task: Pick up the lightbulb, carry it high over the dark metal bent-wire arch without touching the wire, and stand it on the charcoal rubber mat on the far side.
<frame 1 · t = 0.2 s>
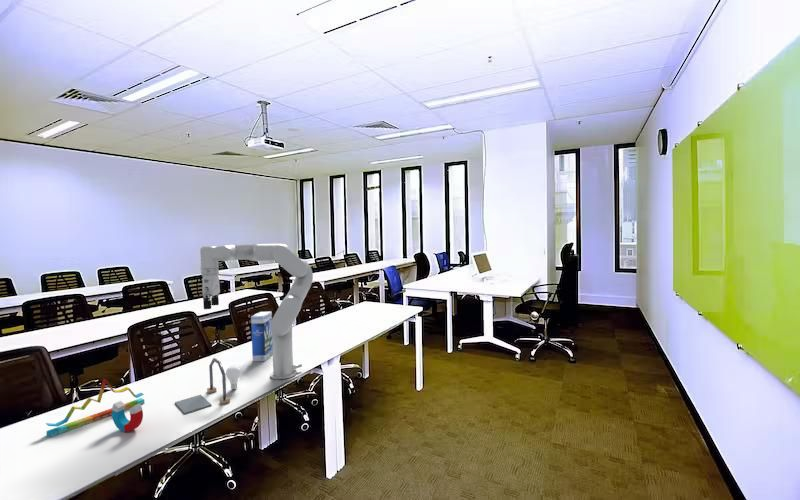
hand: (211, 307, 178), 37 cm above the table, tool pointing down, fingers open, 9 cm apart
magnet: (128, 430, 135), on the table
string lights box: (263, 358, 213), on the table
wire arch: (218, 396, 162), on the table
mat: (193, 404, 155), on the table
chart: (99, 419, 145), on the table
lightbulb: (234, 389, 169), on the table
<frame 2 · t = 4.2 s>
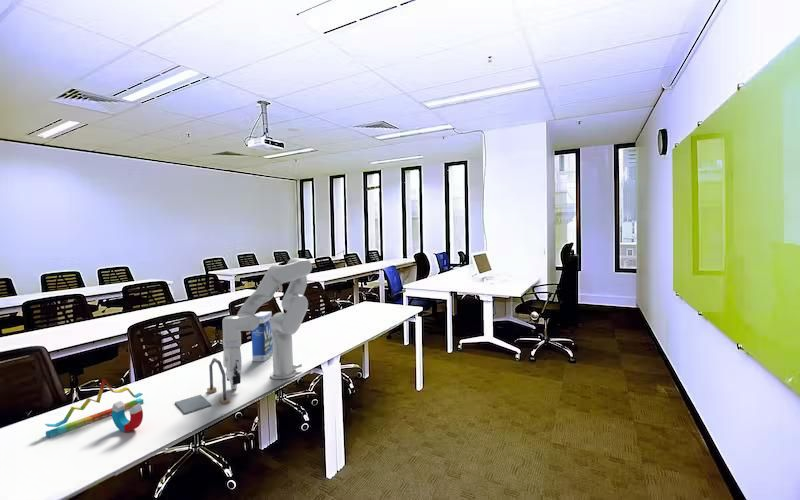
hand: (233, 381, 169), 4 cm above the table, tool pointing down, fingers closed on lightbulb, 6 cm apart
lightbulb: (234, 389, 169), on the table, touching gripper
everything else where it was.
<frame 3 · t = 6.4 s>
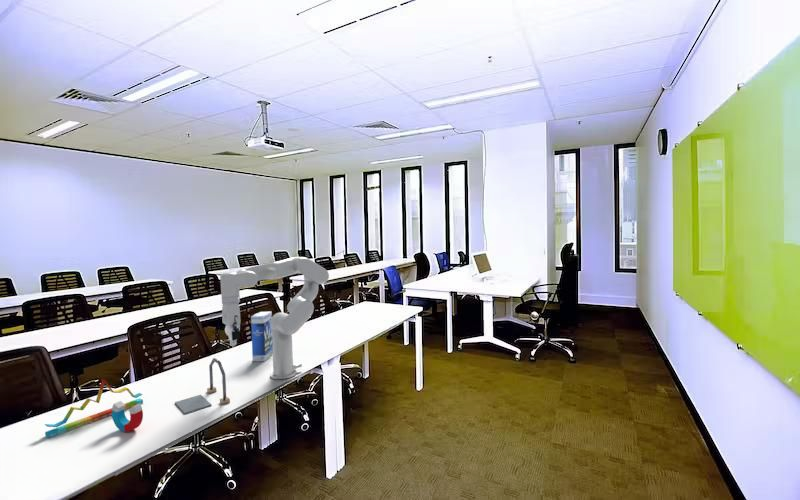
hand: (233, 337, 169), 24 cm above the table, tool pointing down, fingers closed on lightbulb, 6 cm apart
lightbulb: (233, 346, 169), point 20 cm above the table, touching gripper
everything else where it was.
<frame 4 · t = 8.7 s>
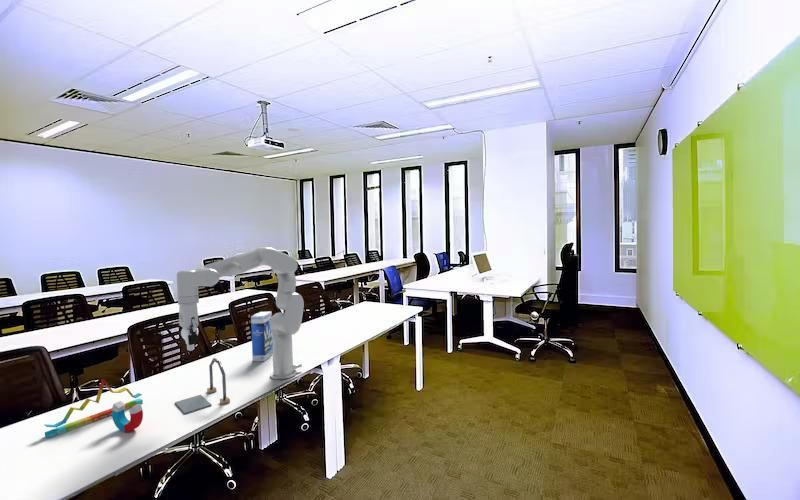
hand: (190, 342, 153), 27 cm above the table, tool pointing down, fingers closed on lightbulb, 6 cm apart
lightbulb: (190, 351, 154), point 23 cm above the table, touching gripper
everything else where it was.
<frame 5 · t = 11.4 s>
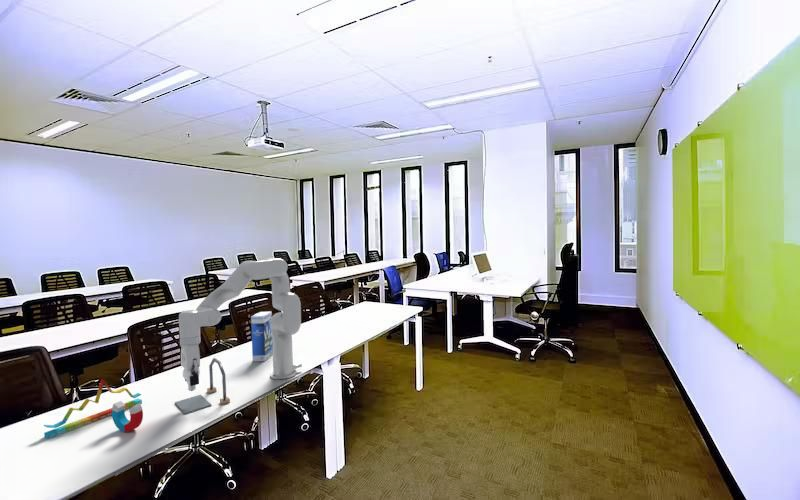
hand: (191, 382, 154), 10 cm above the table, tool pointing down, fingers closed on lightbulb, 6 cm apart
lightbulb: (192, 391, 154), point 6 cm above the table, touching gripper
everything else where it was.
when the fingers open (5 cm above the table, at t = 13.5 s): lightbulb stays where it is, resting on mat.
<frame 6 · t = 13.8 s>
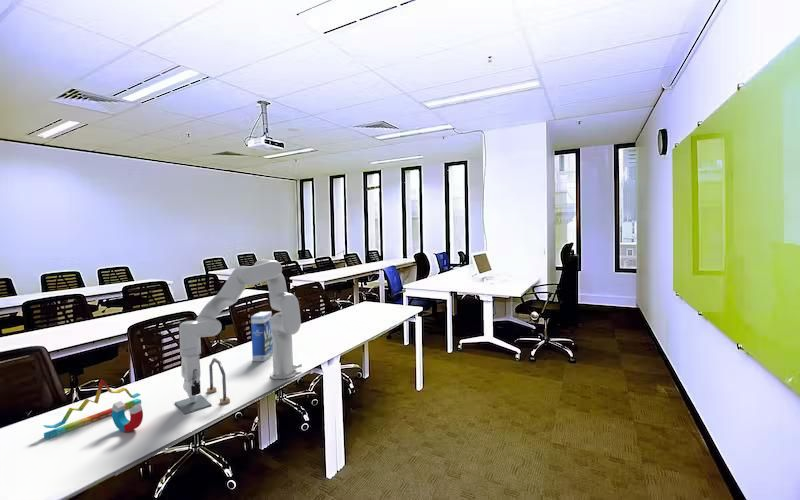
hand: (192, 391, 154), 6 cm above the table, tool pointing down, fingers open, 9 cm apart
lightbulb: (192, 403, 155), resting on mat
everything else where it was.
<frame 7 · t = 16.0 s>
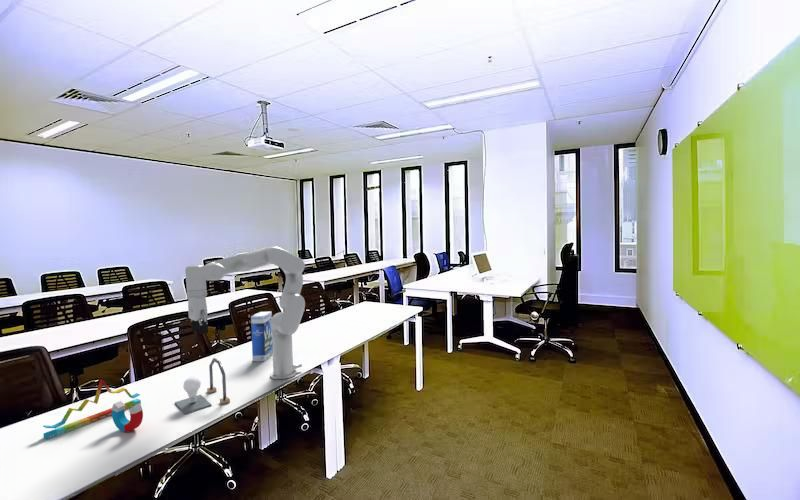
hand: (199, 331, 161), 29 cm above the table, tool pointing down, fingers open, 9 cm apart
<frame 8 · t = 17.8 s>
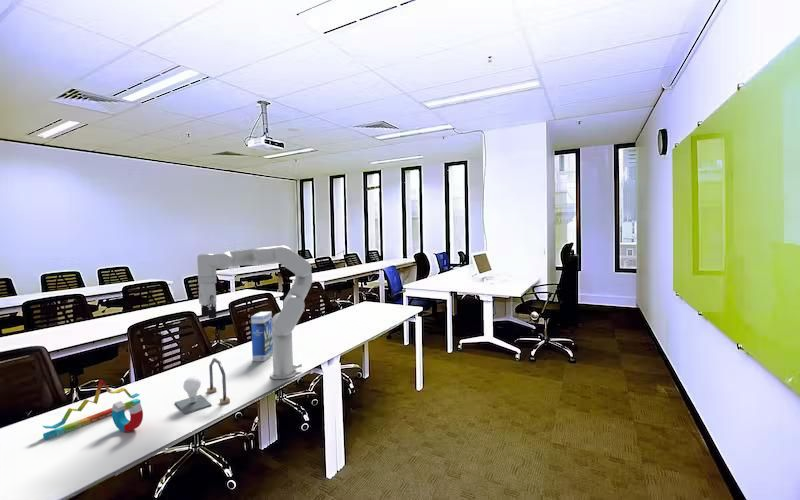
hand: (208, 316, 171), 33 cm above the table, tool pointing down, fingers open, 9 cm apart
at the end: lightbulb inside the target area on the mat (0.5 cm from its centre), point 0.4 cm above the mat's base; lightbulb tilted 0°; lightbulb touching mat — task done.
